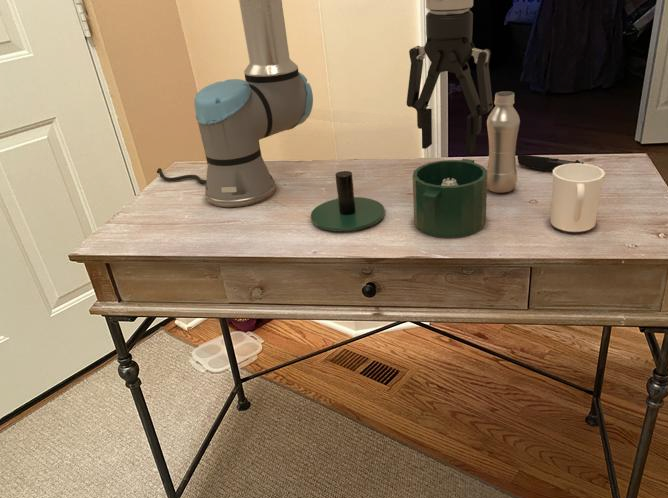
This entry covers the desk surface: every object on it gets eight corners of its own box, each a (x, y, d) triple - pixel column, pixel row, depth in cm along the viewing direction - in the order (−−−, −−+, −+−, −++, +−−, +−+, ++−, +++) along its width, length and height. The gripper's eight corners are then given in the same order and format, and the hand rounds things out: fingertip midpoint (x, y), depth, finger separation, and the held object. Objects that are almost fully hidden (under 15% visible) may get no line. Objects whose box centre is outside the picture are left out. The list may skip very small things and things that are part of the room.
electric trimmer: (520, 164, 142) (521, 150, 140) (587, 172, 134) (589, 158, 132) (514, 169, 139) (514, 156, 137) (582, 178, 132) (583, 164, 130)
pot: (396, 237, 114) (393, 187, 108) (437, 198, 127) (436, 152, 122) (464, 250, 108) (465, 197, 102) (500, 208, 122) (502, 159, 116)
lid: (296, 226, 120) (290, 182, 115) (336, 198, 131) (331, 156, 126) (361, 239, 114) (357, 193, 109) (397, 208, 125) (395, 165, 120)
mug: (546, 214, 118) (551, 163, 112) (594, 215, 116) (601, 163, 111) (549, 240, 109) (554, 186, 103) (601, 241, 107) (609, 186, 102)
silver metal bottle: (523, 190, 128) (529, 93, 117) (498, 199, 125) (502, 100, 114) (502, 181, 133) (506, 87, 122) (478, 189, 130) (480, 94, 119)
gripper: (381, 13, 99) (388, 149, 111) (503, 15, 90) (496, 163, 103) (402, 5, 104) (406, 136, 117) (519, 8, 96) (510, 148, 108)
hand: (448, 148), depth 110 cm, fingers open, 8 cm apart
